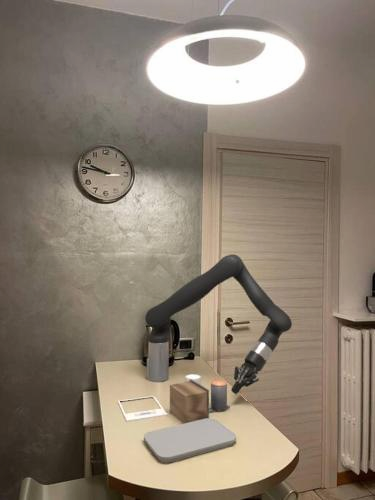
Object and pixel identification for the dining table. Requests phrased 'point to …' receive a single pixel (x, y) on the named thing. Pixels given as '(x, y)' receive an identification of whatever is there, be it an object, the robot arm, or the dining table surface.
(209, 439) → the tablet
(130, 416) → the photo frame
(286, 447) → the dining table surface
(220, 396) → the push knob
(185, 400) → the brown rectangular block
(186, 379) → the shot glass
